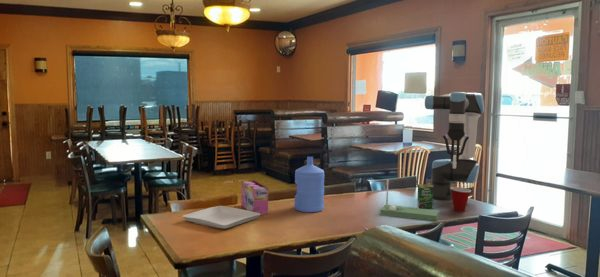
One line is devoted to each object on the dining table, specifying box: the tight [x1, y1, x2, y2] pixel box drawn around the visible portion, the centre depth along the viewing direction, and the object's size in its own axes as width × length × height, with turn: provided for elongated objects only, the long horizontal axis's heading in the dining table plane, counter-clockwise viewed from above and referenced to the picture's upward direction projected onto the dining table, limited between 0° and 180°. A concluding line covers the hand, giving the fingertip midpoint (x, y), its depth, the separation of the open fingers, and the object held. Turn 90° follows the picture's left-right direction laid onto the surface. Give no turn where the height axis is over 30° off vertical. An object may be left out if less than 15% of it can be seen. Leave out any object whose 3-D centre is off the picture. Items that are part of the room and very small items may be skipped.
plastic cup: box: [450, 186, 472, 213], centre depth 254 cm, size 11×11×12 cm
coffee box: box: [416, 183, 434, 209], centre depth 258 cm, size 8×3×13 cm, turn 92°
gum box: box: [240, 180, 269, 216], centre depth 248 cm, size 24×8×14 cm, turn 24°
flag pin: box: [385, 179, 389, 206], centre depth 250 cm, size 4×1×14 cm, turn 158°
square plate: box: [181, 205, 261, 230], centre depth 225 cm, size 27×27×4 cm
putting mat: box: [379, 204, 440, 222], centre depth 243 cm, size 12×28×2 cm, turn 68°
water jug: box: [293, 156, 325, 213], centre depth 250 cm, size 16×16×28 cm
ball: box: [389, 205, 397, 210], centre depth 245 cm, size 4×4×4 cm
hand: (454, 168), depth 243 cm, fingers closed
